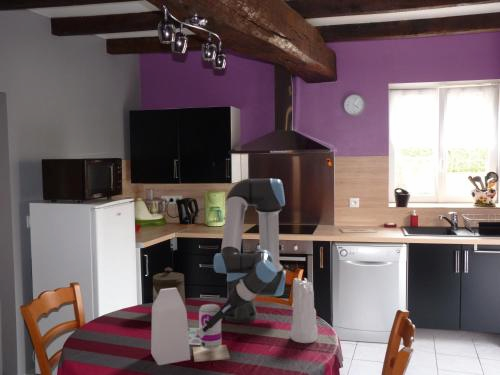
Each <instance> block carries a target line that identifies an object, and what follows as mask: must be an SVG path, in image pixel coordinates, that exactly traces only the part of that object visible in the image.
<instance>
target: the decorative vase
mask: <svg viewBox="0 0 500 375" xmlns="http://www.w3.org/2000/svg"><path fill="white" fill-rule="evenodd" d="M314 294H315V292H314V288H313V282H311V281H308V278H306V277H304V280H302V278H297V277H295V278H293V282H292V324H291V325H290V338H291V340H292V341H294V342H297V343H302V344H310V343H314V342H316V341H317V340H318V339H319V337H318V336H319V335H318V334H319V333H318V332H319V330H318V326H317V310H316V309H315V302H314V301H315V297H314V296H315V295H314Z"/></svg>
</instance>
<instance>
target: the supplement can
mask: <svg viewBox="0 0 500 375" xmlns="http://www.w3.org/2000/svg"><path fill="white" fill-rule="evenodd" d="M220 308H221V307H220V305H219V304H217V303H206V304H203V305H200V308H199V310H198V327H199V328H198V329H199V330H200V329H201V328H202V327H203V326H204V325H205V324H206V320H207V321H209V320H210V319H211V318H212V317H213V316H214V315H215V314H216V313H217V312H218V311H219V310H220ZM199 330H198V331H199ZM222 342H223V341H222V321H221V319H220V320H219V321H218V322H217V323H216V324H215V325H214V326H213V328H212V329H211V330H209V331H208V332H207V333H206V334H205V335H204V336H203V337H202V338H200V337H199V345H200V347H203V348H206V349H214V348H217V347H219V346H220V345H222Z"/></svg>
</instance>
